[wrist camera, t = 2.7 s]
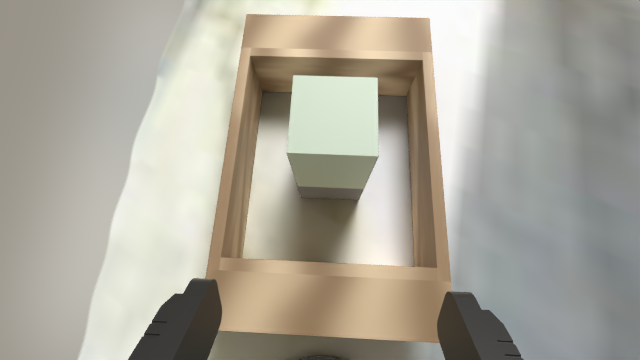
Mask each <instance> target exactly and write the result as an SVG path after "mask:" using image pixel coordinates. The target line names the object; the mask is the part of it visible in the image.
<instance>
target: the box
mask: <svg viewBox="0 0 640 360" xmlns="http://www.w3.org/2000/svg"><path fill="white" fill-rule="evenodd" d="M287 156H288V159H289V162H290V165H291V168H292V171H293V174H294V177H295V180H296V183H297V186H298V189H299V192H300V196H301V198H323V199H347V200H359V199H360V196H361V194H362V192H363V190H364V187H365V185H366V183H367V181H368V179H369V176H370V174H371V172H372V170H373V168H374V165H375V163H376V161H377V159H378V157H379V142H378V78H372V77H336V76H301V75H293V85H292V97H291V108H290V120H289V131H288V142H287Z"/></svg>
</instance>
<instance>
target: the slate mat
mask: <svg viewBox="0 0 640 360" xmlns="http://www.w3.org/2000/svg"><path fill="white" fill-rule="evenodd" d="M300 360H341V359H338V358H335V357H330V356H311V357H307V358H304V359H300Z"/></svg>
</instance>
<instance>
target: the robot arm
mask: <svg viewBox="0 0 640 360" xmlns="http://www.w3.org/2000/svg"><path fill="white" fill-rule="evenodd" d="M221 319H222V305H221V300H220V295H219V290H218V285H217V281H216V280H215V279H198V278H194V279H192V280H191V281H190V283H189V284H188V286H187V288H186V290H185V291H184V293H183V294H174V295H173V296H172V297H171V298H170V299H169V300H167V301H166V302H165V303H164V304H163V305H162V306H161V307H160V309H159V311H158V312H157V314H156V315H155V317H154V319H153V320H152V324H150V325H149V327H148V328H147V330H146V331H145V333H144V336H143V337H142V338H141V340H140V341H139V343H138V344H137V346H136V348H135V349H134V351H133V352H132V354H131V356H130V357H129V359H128V360H207V358H208V356H209V353H210V351H211V348H212V345H213V343H214V340H215V338H216V335H217V332H218V330H219V327H220V324H221ZM437 333H438V338H439V342H440V345H441V348H442V351H443V354H444V357H445V360H523V359H522V358H521V354H520V353H519V351H518V349H517V347H516V346H515V344H513V340H512V338H511V337H510V335H509V333H508V331H507V330H506V328H505V326H504V324H503V323H502V322H501V321H500V320H499V319H498V318H497V317H496V316H495V315H494V314H493V313H492V312H491V311H490V310H481V308H480V306H479V304H478V302H477V300H476V298H475V297H474V295H473V294H472V293H470V292H450V291H448V292H446V294H445V297H444V300H443V303H442V307H441V310H440V313H439V317H438V320H437Z"/></svg>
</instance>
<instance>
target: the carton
mask: <svg viewBox="0 0 640 360" xmlns="http://www.w3.org/2000/svg"><path fill="white" fill-rule="evenodd" d="M293 75H301V76H336V77H372V78H378V95H394V96H407V117H408V138H409V159H410V180H411V202H412V223H413V244H414V265H415V267H408V266H387V265H367V264H346V263H326V262H305V261H284V260H264V259H243V258H242V254H243V246H244V238H245V230H246V222H247V214H248V205H249V197H250V189H251V181H252V173H253V165H254V157H255V148H256V140H257V132H258V124H259V116H260V108H261V100H262V92H292V85H293ZM205 279H215V280H216V281H217V285H218V290H219V295H220V300H221V305H222V319H221V324H220V327H219V330H218V331H236V332H254V333H271V334H289V335H307V336H324V337H342V338H360V339H377V340H395V341H413V342H431V343H440V342H439V338H438V333H437V320H438V317H439V313H440V310H441V307H442V303H443V300H444V297H445V294H446V292H448V291H450V292H452V288H451V276H450V264H449V252H448V239H447V227H446V215H445V203H444V190H443V178H442V166H441V154H440V142H439V129H438V117H437V105H436V93H435V80H434V68H433V56H432V44H431V32H430V19H429V18H398V17H352V16H305V15H259V14H247V15H246V22H245V28H244V35H243V41H242V47H241V54H240V60H239V67H238V73H237V80H236V86H235V92H234V99H233V105H232V112H231V118H230V124H229V131H228V137H227V144H226V150H225V157H224V163H223V169H222V176H221V182H220V189H219V195H218V201H217V208H216V214H215V221H214V227H213V234H212V240H211V246H210V253H209V259H208V266H207V272H206V278H205Z"/></svg>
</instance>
